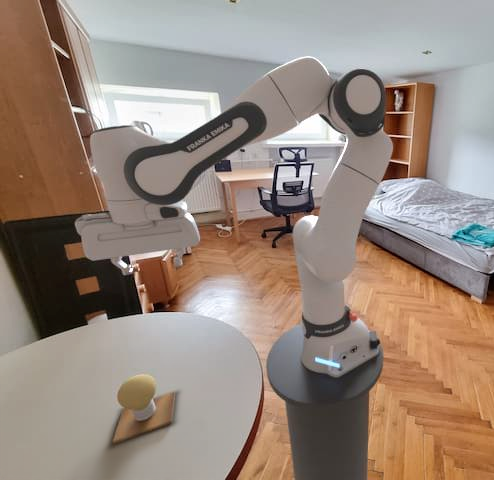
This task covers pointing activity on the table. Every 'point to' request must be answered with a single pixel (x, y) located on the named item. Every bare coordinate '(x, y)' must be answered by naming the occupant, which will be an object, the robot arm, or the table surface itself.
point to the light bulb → (138, 396)
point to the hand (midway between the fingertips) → (154, 269)
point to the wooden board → (160, 418)
